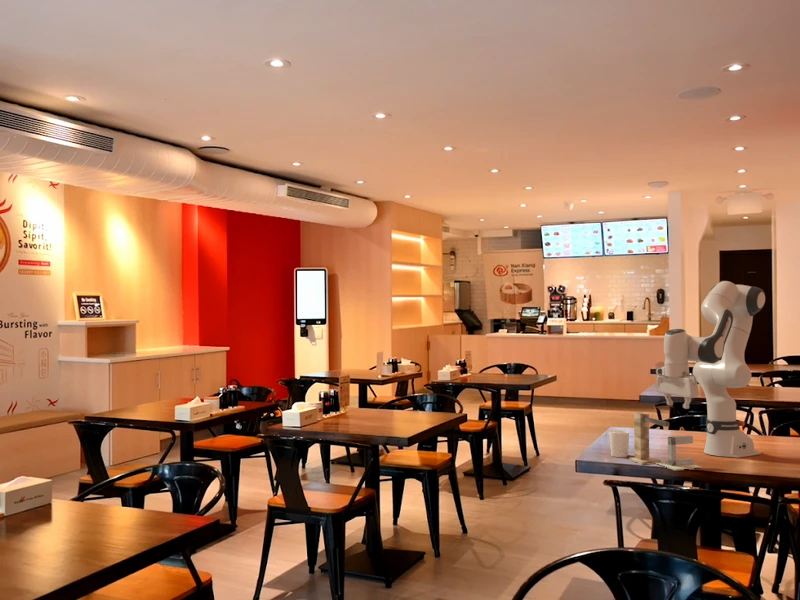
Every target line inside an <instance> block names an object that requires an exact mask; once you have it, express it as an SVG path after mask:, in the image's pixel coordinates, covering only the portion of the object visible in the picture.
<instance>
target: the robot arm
mask: <svg viewBox="0 0 800 600" xmlns="http://www.w3.org/2000/svg"><path fill="white" fill-rule="evenodd" d="M765 303H766V295H765V291H764V290H763V289H762V288H760V287H757V286H754V285H753V286H750V285H744V284H735V283H733V282H731V281H728V280H721V281H720V282H718V283H717V284H715V285H714V286H712V287H711V288H710V291H709V292H708V293H707V295H706V297H705V298H704V300H703V301H702V303H701V306H700V310H701V314H702V316H703V317H704V319H706V320H705V321H707V322H708V323H711V324H713V325H715V327H714V329H713V331H712V334H711V335H709V336H692V335H689V334H688V333H687V331H686V330H685V329H683V328H675V329H670V330H667V331H666V332H665V333H664V338H663V353H664V363H663V364H664V365H663V366H662V367H659V368H657V369H656V370H655V373H656V375H657V376H656V389H657V391H658V392H659V393H661V394H664V398H665V400H666V405H667V406H673V405H674V401H673V400H672V397H671V396H672V395H673V396H676V397H677V396H678V397H682V398H684V403H683V404H682V408H683V409H685V410H689V409H690V404H691V402H692V399H695V398H698V397H699V395H700V394H699V386H700V387H701V389H702V390H703V393H704V396H705V399H706V401H705V402H706V410H707V412H706V413H707V416H706V417H707V418H706V419H705V421H706V437H705V440H706V441H705V444H704V445H705V446H704V450H703V453H704V454H706V455H712V456H717V457H727V458H729V457H730V458H745V457H746V458H747V457H751V456H757V455H761V451H759V450H757V449H755V446H754V444H755V443H754V441H753V439H752V438H751V437H750V436H749V435H748V434H746V433H745V432H744V431H743V430H742V429H740V427H744V426H745V421H743V420H742V421H741V420H739V421H738V420H737V403H736V400H735V399H734V398H733V397H732V396H730V395H729V393H728V389H738V388H740V389H741V388H745V387H747V386H748V385H749V383H750V382H751V380H752V371H751V369H750V367H749V365H747V363H746V361H745V351H746V347H747V343H748V340H749V337H750V333H751V331H752V326H753V319H754V316H755V315H756V314H757V313H759V312H760V311H761V310H762V309H763V308H764V306H765ZM689 362H696V363H695V364H694V366H693V367H692V372H690V363H689ZM698 384H699V386H698ZM727 388H728V389H727Z"/></svg>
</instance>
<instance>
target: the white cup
mask: <svg viewBox="0 0 800 600" xmlns="http://www.w3.org/2000/svg"><path fill="white" fill-rule="evenodd" d="M608 433H609V434H608V436H609V446H610V456H611V457H613V456H614V458H627V456H628V457H629V446H630V445H629V444H630V431H627V430H621V429H619V430H618V429H616V430H614V429H613V430H609V432H608Z"/></svg>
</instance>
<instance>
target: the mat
mask: <svg viewBox="0 0 800 600" xmlns="http://www.w3.org/2000/svg"><path fill="white" fill-rule="evenodd" d="M656 464H659V465H662V466H665V467H664V468H666V467H667V468H666V469H668V470H672V471H676V472H677V471H685V470H684V469H689V470H695V469H694V468H701V469H703V467H702V466H701V465H697V464H694V463H693V464H688V465H676V466H670V465H668V461H661V462H656ZM656 464H655V465H656ZM659 465H658V466H659ZM662 466H661V467H662Z"/></svg>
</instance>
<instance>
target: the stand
mask: <svg viewBox="0 0 800 600" xmlns="http://www.w3.org/2000/svg"><path fill="white" fill-rule="evenodd" d="M633 415H634V416H633V419H634V420H633V423H634V427H633V428H634V433H633V435H634V436H633V437H634V457H629V459H628V460H632V461H635V462H638V463H640V464H639V465H641V464H642V465H646V464H645V463H656V462H662V460H661V459H658V458H654V457H651V456H650V424H654V425H657V426H662V427H666V428H667V427H670V422H669V421H666V420H661V419H657V418H652V417H650V416H649V415H650V414H649V413H647V412H634V413H633ZM632 461H631V462H632ZM635 462H634V463H635ZM638 463H637V464H638Z"/></svg>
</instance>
